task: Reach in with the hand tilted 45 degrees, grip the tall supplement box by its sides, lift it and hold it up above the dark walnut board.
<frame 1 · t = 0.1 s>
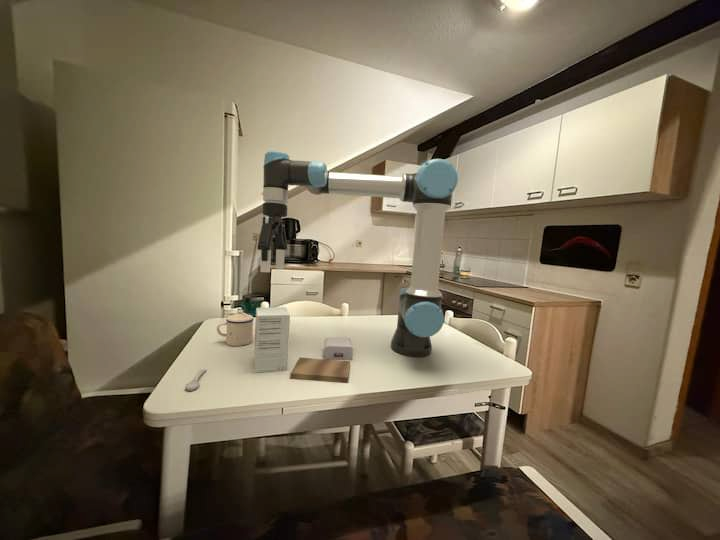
hand: (273, 270, 94), 28 cm above the table, fingers open, 13 cm apart
charger: (337, 352, 102), on the table
spoon: (197, 382, 76), on the table
walnut board: (321, 371, 86), on the table
supplement box: (270, 365, 88), on the table
teacup with lid: (235, 342, 104), on the table
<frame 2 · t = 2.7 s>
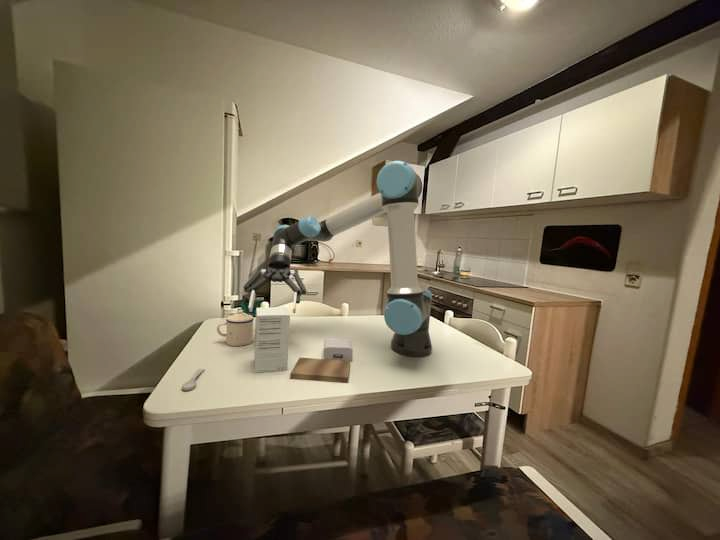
hand: (272, 310, 93), 15 cm above the table, fingers open, 13 cm apart
charger: (336, 353, 101), on the table
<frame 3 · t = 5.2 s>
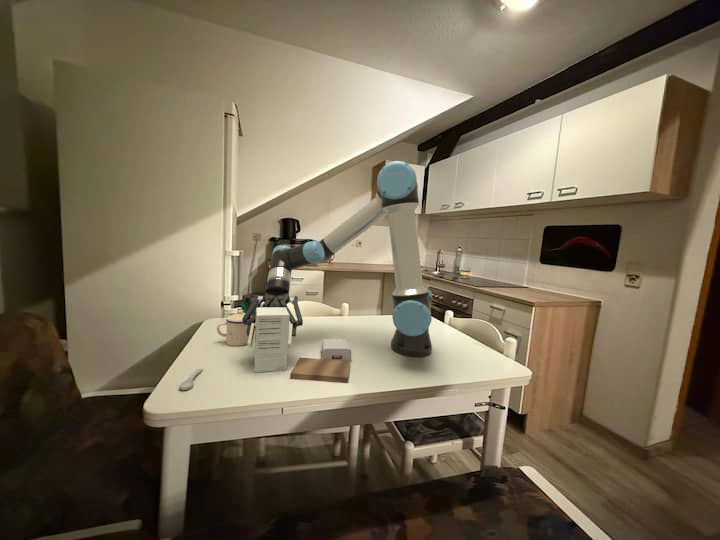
hand: (269, 345, 84), 7 cm above the table, fingers closed on supplement box, 10 cm apart
charger: (334, 354, 100), on the table
supplement box: (270, 365, 88), on the table, touching gripper
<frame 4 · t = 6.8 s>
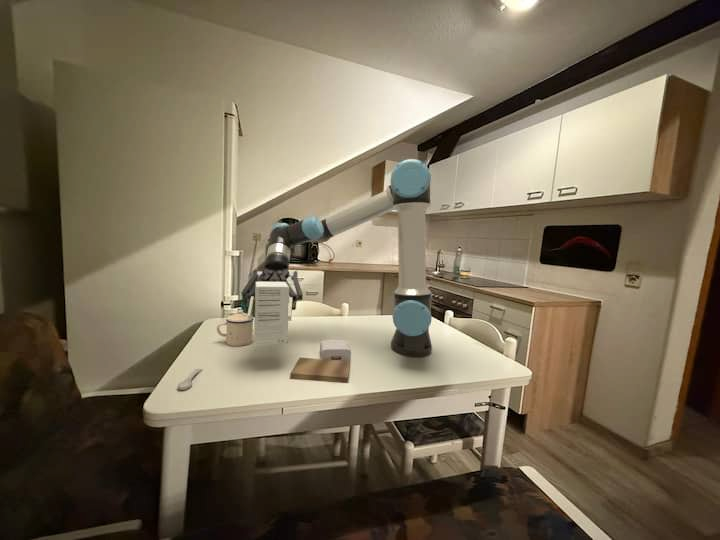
hand: (269, 318, 84), 15 cm above the table, fingers closed on supplement box, 10 cm apart
supplement box: (270, 339, 87), point 8 cm above the table, touching gripper
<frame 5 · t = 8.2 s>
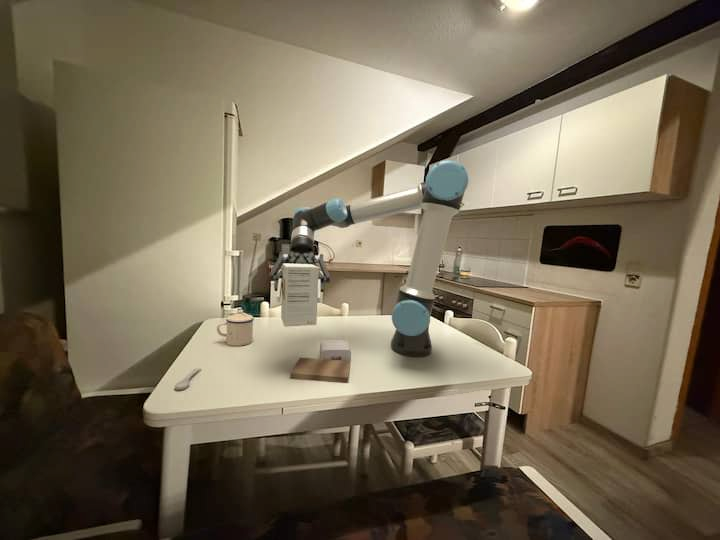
hand: (298, 299, 82), 21 cm above the table, fingers closed on supplement box, 10 cm apart
supplement box: (298, 322, 86), point 14 cm above the table, touching gripper
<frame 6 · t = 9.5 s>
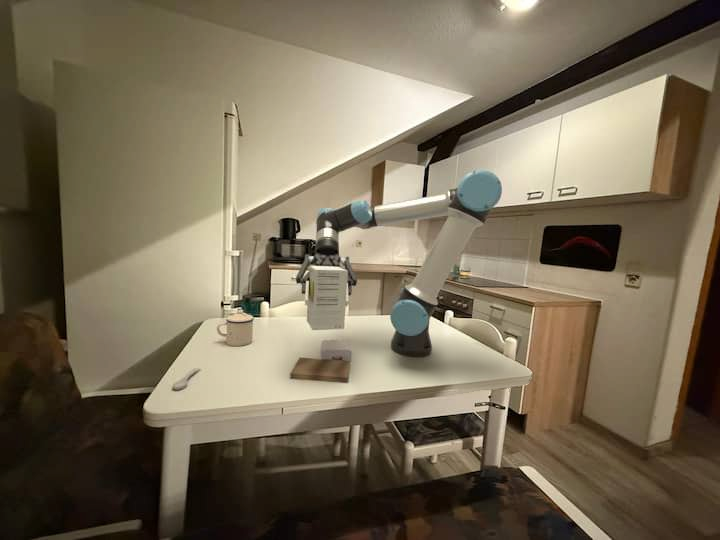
hand: (326, 303, 81), 21 cm above the table, fingers closed on supplement box, 10 cm apart
charger: (334, 355, 99), on the table, touching walnut board
supplement box: (324, 325, 84), point 14 cm above the table, touching gripper
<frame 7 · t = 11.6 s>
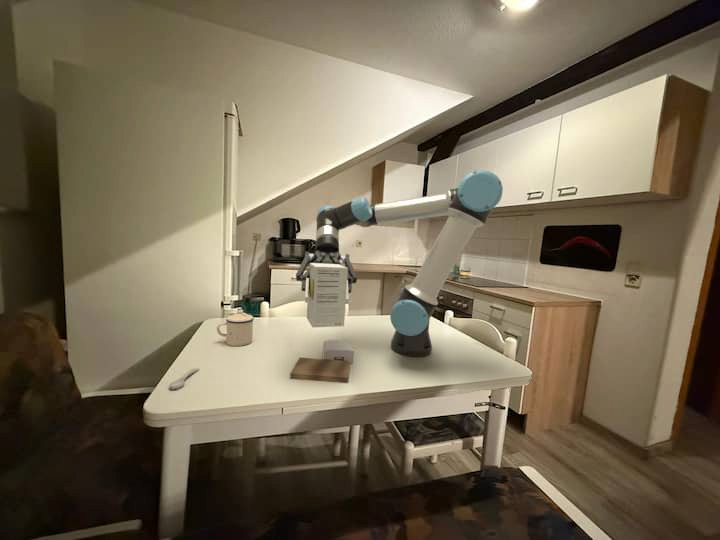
hand: (326, 300, 81), 22 cm above the table, fingers closed on supplement box, 10 cm apart
charger: (336, 355, 99), on the table
supplement box: (324, 323, 84), point 15 cm above the table, touching gripper
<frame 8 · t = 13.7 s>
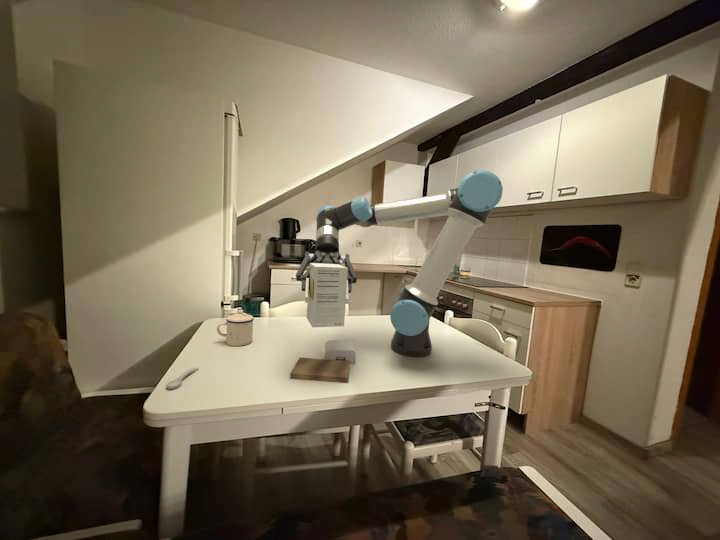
hand: (326, 300, 81), 22 cm above the table, fingers closed on supplement box, 10 cm apart
supplement box: (324, 323, 84), point 15 cm above the table, touching gripper
at the end: the gripper is holding supplement box; supplement box inside the target area on the walnut board (0.1 cm from its centre), point 14.7 cm above the walnut board's base; supplement box tilted 0° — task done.
